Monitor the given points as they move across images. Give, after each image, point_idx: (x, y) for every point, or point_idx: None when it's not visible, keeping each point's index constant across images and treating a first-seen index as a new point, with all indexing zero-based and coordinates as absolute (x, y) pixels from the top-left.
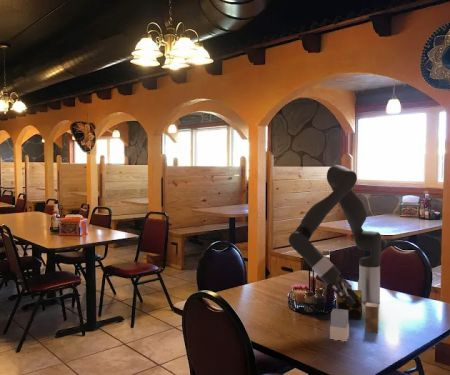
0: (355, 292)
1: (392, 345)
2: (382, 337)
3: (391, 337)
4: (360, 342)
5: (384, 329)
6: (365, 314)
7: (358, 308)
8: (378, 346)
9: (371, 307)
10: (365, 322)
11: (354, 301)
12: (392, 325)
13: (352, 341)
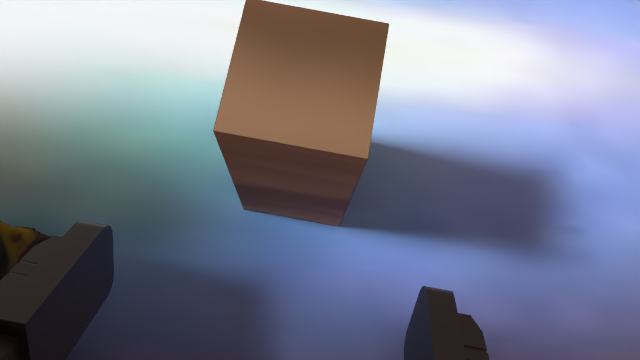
0: None
1: (559, 68)
2: (434, 113)
3: (417, 55)
4: (583, 278)
5: None
6: (355, 186)
7: (6, 248)
8: (610, 157)
9: (375, 92)
10: (345, 207)
11: (430, 298)
12: (169, 15)
13: (584, 341)
